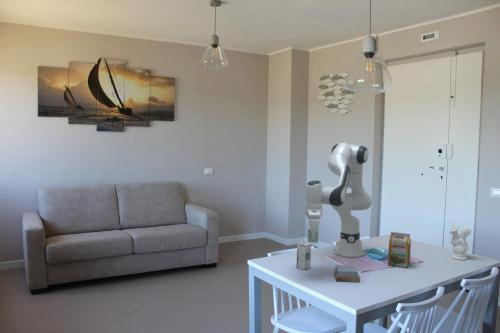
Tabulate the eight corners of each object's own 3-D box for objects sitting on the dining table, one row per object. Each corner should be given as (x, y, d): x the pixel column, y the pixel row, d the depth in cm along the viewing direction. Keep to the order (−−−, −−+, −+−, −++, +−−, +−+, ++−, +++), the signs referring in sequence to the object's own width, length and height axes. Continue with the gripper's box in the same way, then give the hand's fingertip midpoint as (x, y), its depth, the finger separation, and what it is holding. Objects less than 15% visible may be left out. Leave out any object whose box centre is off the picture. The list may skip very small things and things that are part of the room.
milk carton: (388, 265, 257) (389, 233, 256) (391, 261, 266) (392, 230, 265) (407, 268, 252) (408, 235, 251) (410, 263, 262) (411, 232, 260)
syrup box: (301, 265, 255) (302, 241, 254) (310, 267, 251) (311, 242, 250) (296, 268, 251) (296, 242, 250) (305, 270, 247) (305, 244, 246)
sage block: (307, 240, 238) (308, 229, 238) (317, 240, 238) (317, 229, 237) (308, 242, 233) (308, 231, 233) (317, 242, 233) (318, 231, 232)
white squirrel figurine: (471, 260, 271) (474, 224, 269) (456, 262, 266) (458, 226, 264) (455, 254, 282) (458, 220, 280) (440, 256, 278) (442, 222, 276)
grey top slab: (335, 270, 239) (335, 265, 239) (354, 271, 239) (354, 265, 239) (338, 276, 229) (338, 271, 229) (357, 277, 229) (358, 271, 229)
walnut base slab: (333, 275, 241) (333, 270, 240) (356, 276, 240) (356, 270, 240) (336, 282, 229) (336, 277, 229) (359, 283, 228) (360, 278, 228)
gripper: (306, 208, 245) (306, 232, 246) (308, 215, 224) (307, 242, 225) (318, 208, 244) (317, 233, 245) (321, 215, 224) (320, 242, 225)
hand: (312, 237), depth 235 cm, fingers closed on sage block, 5 cm apart
